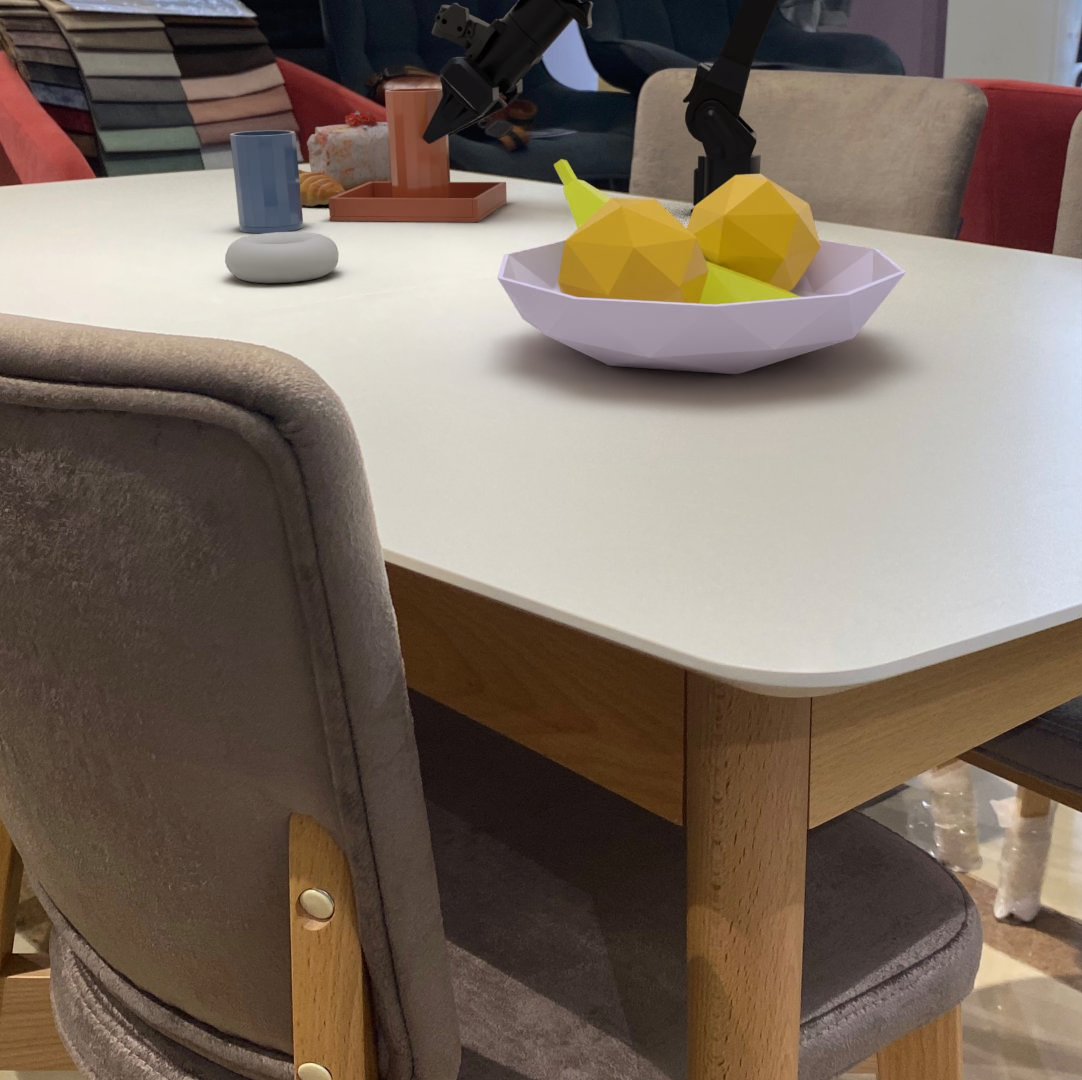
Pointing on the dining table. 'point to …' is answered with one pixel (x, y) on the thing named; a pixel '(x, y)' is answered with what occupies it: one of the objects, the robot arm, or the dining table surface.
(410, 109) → the terracotta cup
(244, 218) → the slate cup
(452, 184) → the tray
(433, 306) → the dining table surface
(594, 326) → the fruit bowl
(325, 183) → the pastry
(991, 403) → the dining table surface
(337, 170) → the food item
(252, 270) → the donut
